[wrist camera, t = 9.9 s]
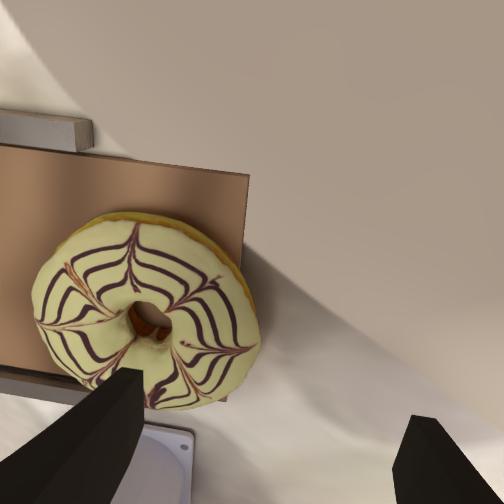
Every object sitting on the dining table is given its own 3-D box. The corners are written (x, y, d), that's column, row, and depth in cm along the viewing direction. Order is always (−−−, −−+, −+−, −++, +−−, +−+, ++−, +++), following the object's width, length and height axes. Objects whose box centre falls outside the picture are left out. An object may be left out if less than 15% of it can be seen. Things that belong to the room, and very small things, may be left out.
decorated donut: (167, 403, 23) (145, 458, 20) (30, 281, 21) (-23, 320, 17) (301, 318, 20) (302, 366, 16) (156, 158, 17) (121, 176, 14)
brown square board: (249, 174, 17) (232, 202, 13) (227, 394, 22) (210, 465, 18) (-122, 127, 18) (-248, 138, 14) (-59, 346, 23) (-138, 403, 19)
